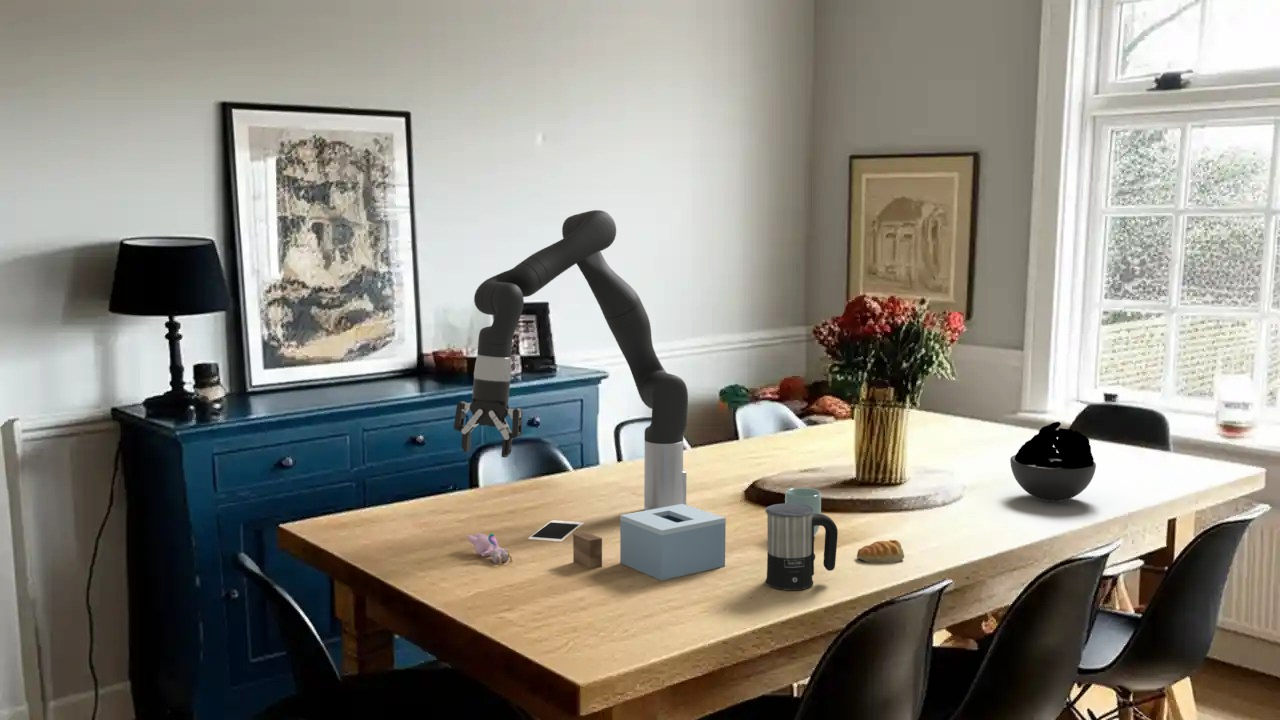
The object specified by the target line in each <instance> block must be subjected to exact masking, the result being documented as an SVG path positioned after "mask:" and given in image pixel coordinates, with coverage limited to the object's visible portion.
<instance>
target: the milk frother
mask: <svg viewBox="0 0 1280 720" xmlns="http://www.w3.org/2000/svg"><path fill="white" fill-rule="evenodd" d="M764 511H765V513H766V515H767V516H766V517H767V521H766V523H767V526H766V527H767V538H766V539H767V540H766V541H767V548H766V549H767V558H766V559H767V561H766V563H767V564H766V565H767V566H766V578H765V584H766V585H767V586H768V587H771V588H773V589H777V590H784V591H800V590H805V589H809V588H811V587H813V585H814V580H813V576H814V575H815V560H816V554H815V536H814V526H819V527H823V528H824V531H825V532H824V546H823V547H824V549H823V562H822V563H823V567H824V568H825V570H826V571H829V572H830V571H833V570H835V568H836V562H837V561H836V560H837V548H838V547H837V545H838V534H839V533H838V526H837V524H836V523H835V522H834V520H833V519H832V518H831V517H830V516H828V515H826V514H823V513H821V514H812V512H813V511H814V509H813V508H812V507H810V506H807V505H802V504H792V503H785V502H784V503H776V504H771V505H769V506H766V509H765V510H764Z"/></svg>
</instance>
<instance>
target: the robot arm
mask: <svg viewBox="0 0 1280 720" xmlns="http://www.w3.org/2000/svg"><path fill="white" fill-rule="evenodd" d="M561 233H562V235H561V236H562V239H560V240H558V241H556V242H554V243H552V244H550V245H549V246H546V247H544V248H542V249H540V250H538V251H536V252H534V253H532V254H531V255H529V256H528V257H526V258H525V259H524V260H522V261H521V262H519V263H518V264H516V265H515V266H514V267H512V268H511V269H508V270H505V271H503V272H501V273H498V274H496V275H493V276H491V277H489V278H488V279H485V280H484V281H483V282H481V284H479V286H478V287H477V289H476V291H475V293H474V296H473V297H474V298H473V302H474V305H475V307H476V309H477V310H478V311H479V312H480V313H482V314H485V315H490V316H495V317H494V320H493V322H492V324H491V325H490V326H486V327H485V326H484V327H483V328H481V329H480V330H479V333H478V342H477V353H476V354H477V355H476V360H475V364H474V370H473V387H472V396H471V397H472V398H471V399H472V400H471V403H470V402H469V403H468V402H466V401H459V402H457V404H456V409H455V410H456V411H455V415H454V416H455V417H454V423H453V430H455V431H458V432H460V433H461V436H462V437H461V445H460V446H461V449H462V450H463V453H470V452H471V448H472V447H471V446H472V436H473V434H472V431H473V430H474V429H475V428H476V427H477V426H488V427H492V428H495V427H496V429H497V431H499V433H500V434H501V436H502V437H503V439H502V445H501V458H508V456H509V455H511V453H512V448H513V447H512V446H513V439H514V438H515V439H516V438H520V437H521V436H522V433H523V432H522V431H523V409H522V408H519V407H518V408H510V407H509V397H510V386H511V375H512V358H511V357H512V350H513V338H514V335H515V332H516V330H517V327H518V324H519V322H520V318H521V315H522V312H523V309H524V305H525V303H524V301H525V300H524V298H526V297H530V296H533V295H534V294H536V293H538V292H539V290H542V288H544V287H545V286H547V285H548V284H549V283H550V282H552V281H553V280H554V279H556V278H557V277H559V276H561V274H563V273H564V272H566V271H567V270H568V269H570V268H571V267H573V266H575V265H577V267H578V268H579V270H580V271H581V273H582V276H583V277H584V279H585V281H586V282H587V284H588V287H589V288H590V290H591V292H592V294H593V295H594V298H595V300H596V302H597V304H598V305H599V307H600V310H601V313H602V315H603V317H604V319H605V321H606V323H607V326H608V328H609V329H610V331H611V333H612V335H613V337H614V339H615V341H616V343H617V345H618V347H619V349H620V351H621V353H622V355H623V357H624V358H625V361H626V363H627V365H628V367H629V369H630V371H631V375H632V378H633V380H634V381H633V382H634V383H635V386H636V390H637V393H638V394H639V398H640V400H641V401H642V402H643V404H644V405H645V406H646V407H648V408H649V409H650V410H651V422H650V424H649V426H647V427H646V428H645V429H644V475H643V476H644V478H643V479H644V482H643V484H644V485H643V486H644V487H643V488H644V490H643V491H644V493H643V495H644V496H643V499H644V503H643V504H644V507H643V509H644V510H643V511H646V510H651V509H657V508H662V507H668V506H673V505H679V504H685V505H687V475H688V474H687V471H686V470H684V435H685V432H686V429H687V425H688V408H689V393H688V387H687V384H686V383H685V380H684V379H683V378H681V377H679V376H677V375H676V374H671V373H669V372H667V371H666V369H665V368H664V367H663V365H662V363H661V361H660V360H659V358H658V356H657V354H656V351H655V348H654V346H653V340H652V329H651V323H650V322H651V321H650V319H649V315H648V313H647V312H646V309H645V306H644V305H643V302H642V300H641V299H640V296H639V295H638V293H637V291H636V290H635V289H634V288H632V286H631V285H630V284H629V283H628V282H626V281H625V280H624V279H623V278H622V277H620V275H618V274H617V273H616V272H615V271H614V270H613V269H612V268H611V267H610V266H609V264H608V263H607V260H605V258H604V255H603V254H602V251H604V250H606V249H608V248H609V247H610V246H611V245H612V244H614V241H615V239H616V237H617V226H616V223H615V220H614V218H613V217H612V216H611V215H610V214H609V213H608V212H606V211H605V210H600V209H599V210H598V209H597V210H596V209H593V210H589V211H585V212H581V213H577V214H573V215H570V216H568V217H566V219H565V220H564V221H563V223H562V229H561ZM469 410H470V412H471V414H472V417H471V418H470V419H469V420H468V421H467V422H466V424H465V421H466V420H465V419H466V413H468V412H469ZM508 415H509V416H510V419H511V420H512V426H511V427H512V430H511V428H510V425H509V424H508V422H507V420H506V418H507V417H508Z"/></svg>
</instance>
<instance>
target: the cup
mask: <svg viewBox="0 0 1280 720" xmlns="http://www.w3.org/2000/svg"><path fill="white" fill-rule="evenodd" d="M784 496H785V497H784V501H785V502H784V504H785V503H792V504H802V505H807V506H810V507H812V508H813V509H814V511H813V512H812V514H822V513H821V512H822V493H821V490H818V489H816V488H815V489H814V488H809V487H808V488H807V487H795V488H794V487H793V488H790V489H789V488H788V489H786V491H785V495H784ZM819 529H820V526H814V537H815V536H816V534H817V533H818V531H819Z"/></svg>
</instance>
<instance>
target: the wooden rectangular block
mask: <svg viewBox="0 0 1280 720" xmlns="http://www.w3.org/2000/svg"><path fill="white" fill-rule="evenodd" d="M572 535H573V536H572V537H573V538H572V541H573V543H572V544H573V545H572V548H573V552H572V554H573V556H572V557H573V558H572V559H573V563H574V564H576V565H578V566H581V567H583V568H585V569H587V570H596V569H600V568H603V538H602V537H600V536H597V535H595V534H593V533H590V532H588V531H582V532H577V533H572Z"/></svg>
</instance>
